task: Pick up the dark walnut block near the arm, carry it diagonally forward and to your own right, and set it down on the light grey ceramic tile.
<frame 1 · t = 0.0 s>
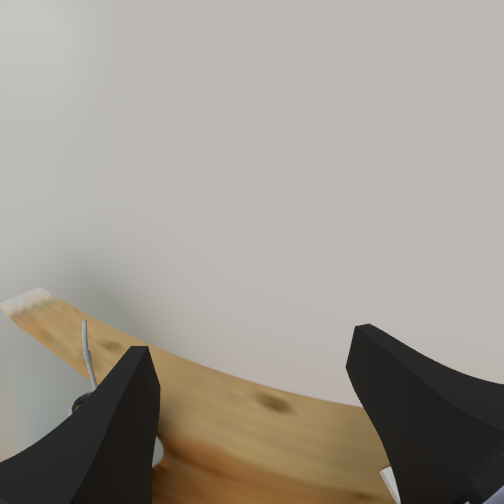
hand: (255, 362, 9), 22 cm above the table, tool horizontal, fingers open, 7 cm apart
grey tile: (436, 486, 16), on the table
mate gourd: (117, 449, 24), on the table
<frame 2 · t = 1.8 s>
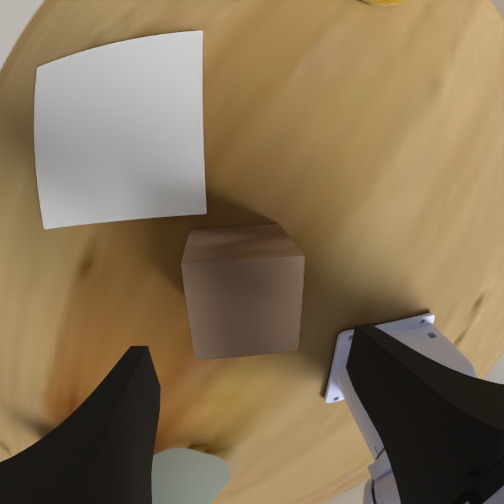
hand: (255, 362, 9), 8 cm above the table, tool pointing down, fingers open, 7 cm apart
walnut block: (236, 267, 17), on the table
grey tile: (112, 129, 13), on the table
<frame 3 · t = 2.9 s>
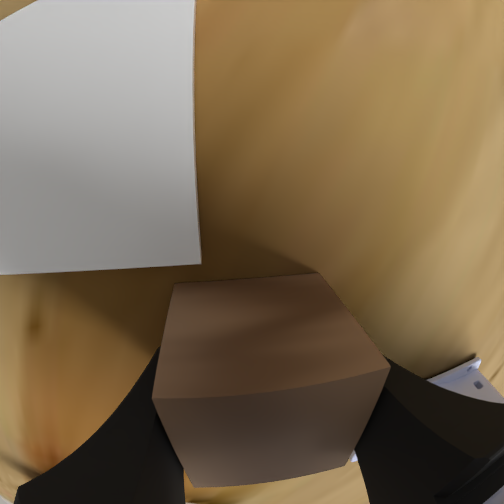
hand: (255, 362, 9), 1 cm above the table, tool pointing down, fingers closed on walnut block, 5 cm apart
walnut block: (250, 337, 11), on the table, touching gripper
grey tile: (48, 121, 7), on the table
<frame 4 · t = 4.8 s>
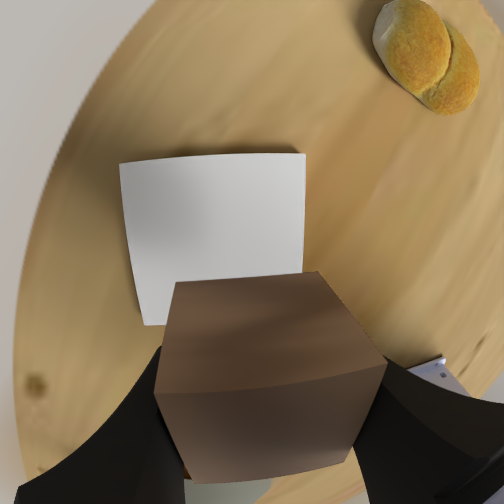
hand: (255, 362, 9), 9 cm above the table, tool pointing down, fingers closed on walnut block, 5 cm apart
walnut block: (249, 335, 11), point 7 cm above the table, touching gripper
grey tile: (215, 242, 16), on the table
bread roll: (417, 57, 14), on the table
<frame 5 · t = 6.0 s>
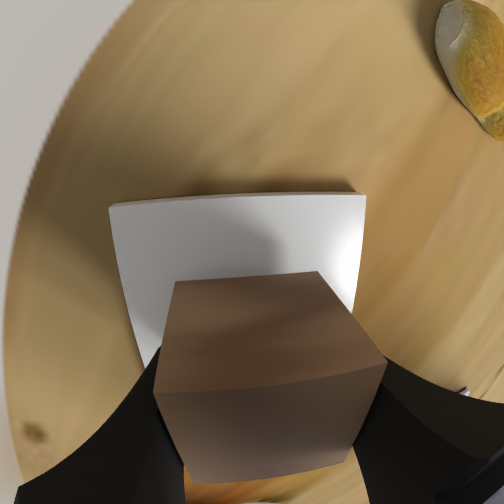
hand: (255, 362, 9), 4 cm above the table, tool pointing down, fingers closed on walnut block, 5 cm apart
walnut block: (249, 334, 11), point 2 cm above the table, touching gripper
grey tile: (243, 306, 13), on the table
bread roll: (474, 70, 10), on the table
when the fingers open (4 cm above the table, at t = 6.8 s): walnut block drops 1 cm, resting on grey tile.
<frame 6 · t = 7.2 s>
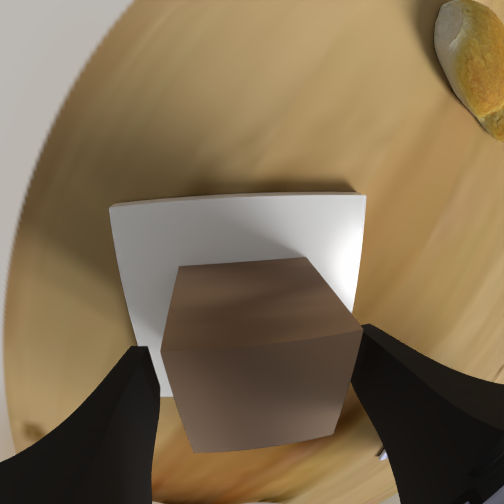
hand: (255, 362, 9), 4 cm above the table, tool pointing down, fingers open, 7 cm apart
walnut block: (245, 316, 12), point 1 cm above the table, touching grey tile
grey tile: (243, 306, 13), on the table
bread roll: (474, 70, 10), on the table
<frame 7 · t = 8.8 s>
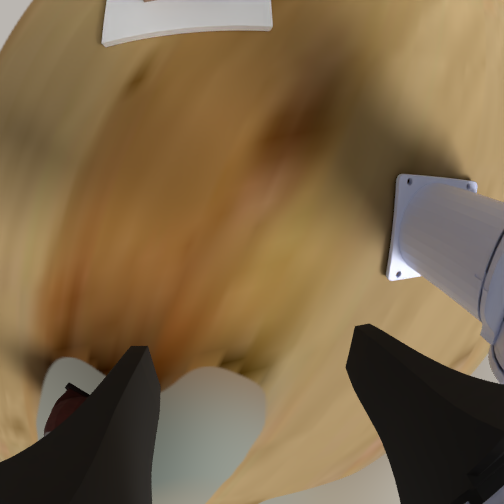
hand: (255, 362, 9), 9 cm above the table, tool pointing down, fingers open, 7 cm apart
mate gourd: (92, 399, 21), on the table
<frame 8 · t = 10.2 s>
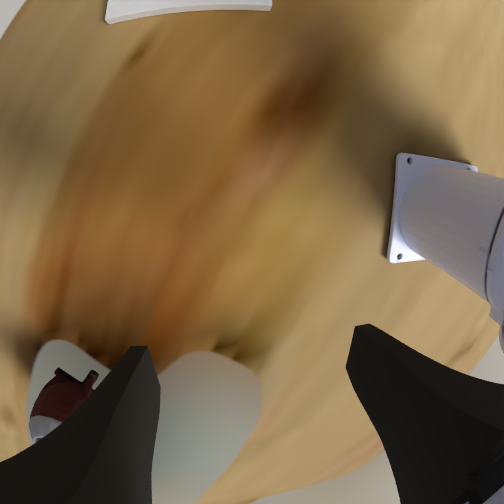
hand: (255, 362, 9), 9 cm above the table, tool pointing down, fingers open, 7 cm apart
mate gourd: (81, 386, 21), on the table
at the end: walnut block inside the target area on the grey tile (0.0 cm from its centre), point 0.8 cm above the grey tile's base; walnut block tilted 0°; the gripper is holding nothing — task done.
